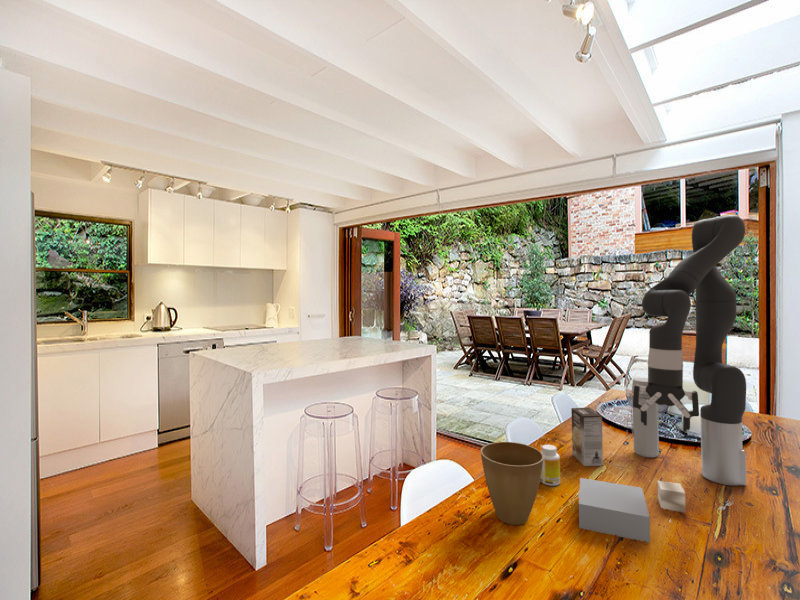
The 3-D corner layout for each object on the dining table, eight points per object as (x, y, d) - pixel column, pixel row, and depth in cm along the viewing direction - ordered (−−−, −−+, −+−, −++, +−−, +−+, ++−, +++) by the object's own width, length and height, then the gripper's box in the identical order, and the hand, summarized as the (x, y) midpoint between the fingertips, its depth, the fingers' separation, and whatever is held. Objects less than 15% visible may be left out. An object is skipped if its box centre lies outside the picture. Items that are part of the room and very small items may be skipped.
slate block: (642, 511, 97) (641, 487, 97) (650, 544, 84) (649, 517, 84) (580, 500, 103) (580, 477, 103) (579, 529, 90) (578, 503, 90)
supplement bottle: (564, 483, 111) (563, 448, 111) (550, 488, 109) (549, 452, 109) (549, 476, 116) (548, 442, 116) (535, 480, 114) (534, 445, 114)
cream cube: (680, 503, 100) (680, 483, 100) (685, 513, 95) (685, 492, 95) (657, 499, 102) (657, 480, 102) (661, 508, 97) (660, 489, 97)
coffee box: (571, 454, 131) (570, 407, 131) (590, 454, 131) (589, 406, 131) (583, 466, 122) (582, 415, 122) (604, 466, 122) (603, 415, 122)
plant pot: (512, 542, 86) (510, 470, 86) (470, 510, 99) (468, 448, 99) (559, 522, 93) (557, 456, 92) (514, 495, 106) (512, 437, 106)
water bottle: (659, 452, 131) (657, 378, 131) (659, 460, 124) (657, 383, 124) (627, 447, 136) (625, 376, 136) (626, 455, 129) (624, 380, 129)
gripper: (698, 367, 100) (698, 429, 100) (634, 361, 109) (634, 419, 109) (700, 371, 94) (699, 437, 94) (632, 365, 103) (631, 426, 103)
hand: (664, 427), depth 101 cm, fingers open, 8 cm apart
